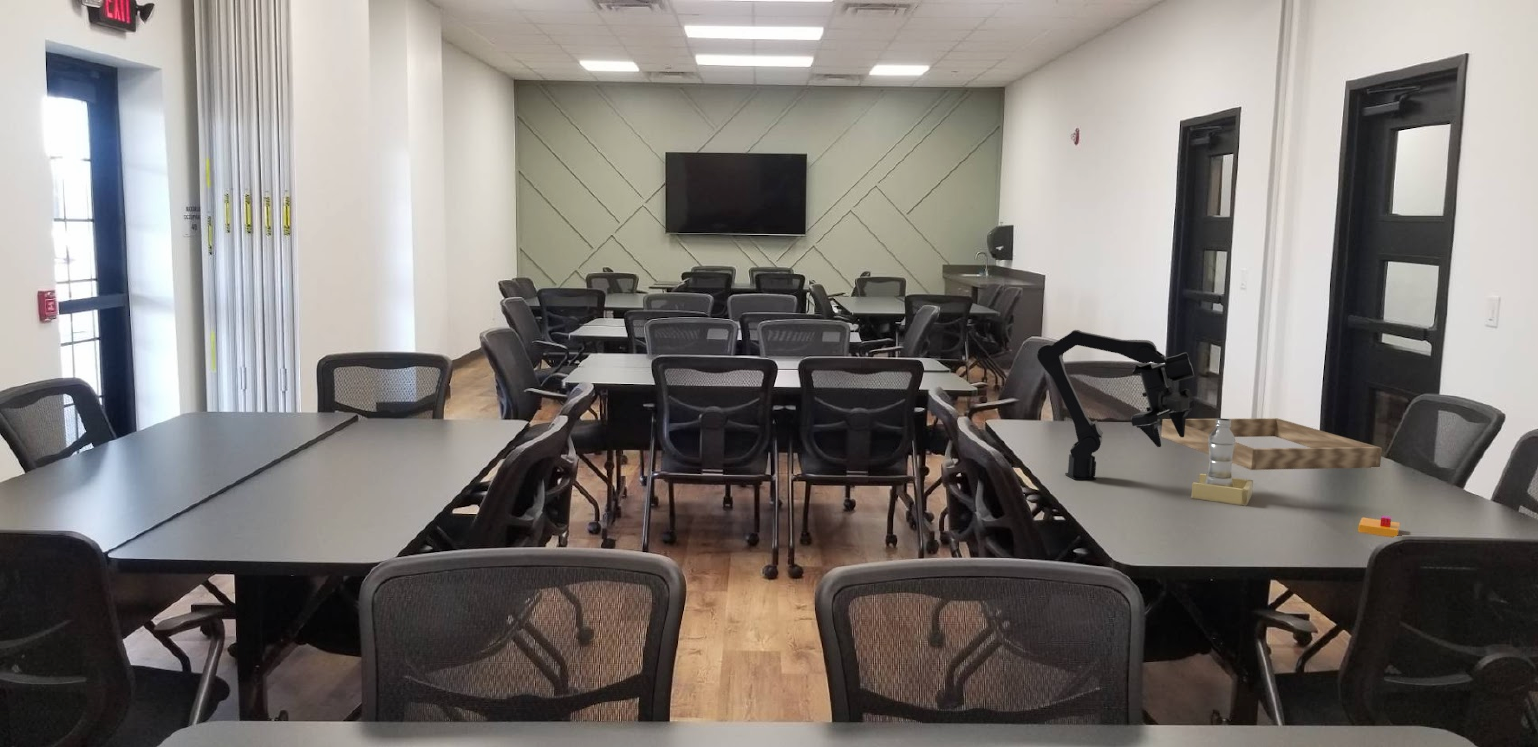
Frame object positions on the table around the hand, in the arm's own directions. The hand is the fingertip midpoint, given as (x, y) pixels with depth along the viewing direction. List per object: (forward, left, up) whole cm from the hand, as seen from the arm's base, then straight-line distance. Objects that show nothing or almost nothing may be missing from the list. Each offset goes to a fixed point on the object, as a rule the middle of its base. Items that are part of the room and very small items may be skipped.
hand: (1171, 441), depth 295 cm
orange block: (+28, -45, -13) cm, 55 cm away
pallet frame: (+59, +42, -12) cm, 73 cm away
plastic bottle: (+8, -11, -12) cm, 18 cm away
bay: (+8, -11, -12) cm, 19 cm away
